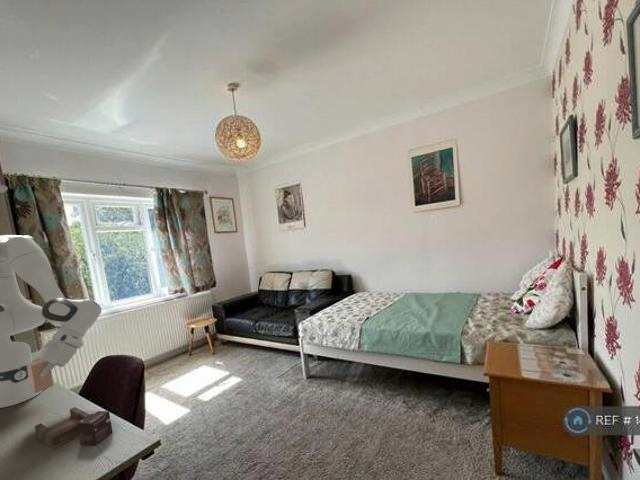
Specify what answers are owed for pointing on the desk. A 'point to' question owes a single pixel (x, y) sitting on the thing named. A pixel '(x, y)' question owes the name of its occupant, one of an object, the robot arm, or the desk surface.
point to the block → (34, 379)
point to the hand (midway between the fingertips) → (37, 374)
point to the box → (94, 428)
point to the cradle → (61, 429)
